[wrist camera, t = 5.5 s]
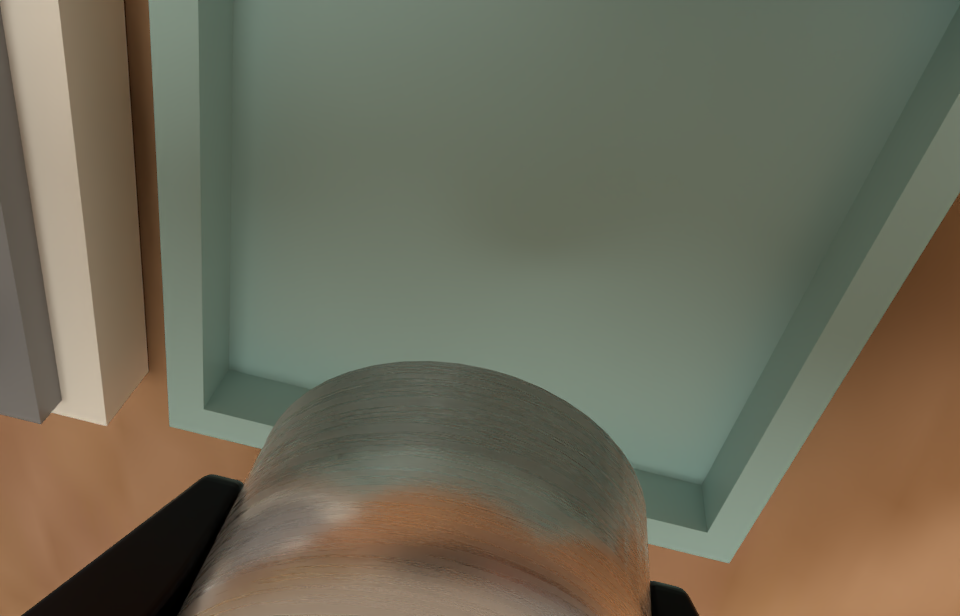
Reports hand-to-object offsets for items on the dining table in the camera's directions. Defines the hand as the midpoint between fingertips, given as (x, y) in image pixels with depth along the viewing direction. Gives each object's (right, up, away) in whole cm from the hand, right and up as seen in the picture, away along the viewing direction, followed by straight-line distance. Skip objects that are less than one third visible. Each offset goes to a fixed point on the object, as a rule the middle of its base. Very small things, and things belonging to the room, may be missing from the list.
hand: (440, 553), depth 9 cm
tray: (+1, +5, +7) cm, 9 cm away
